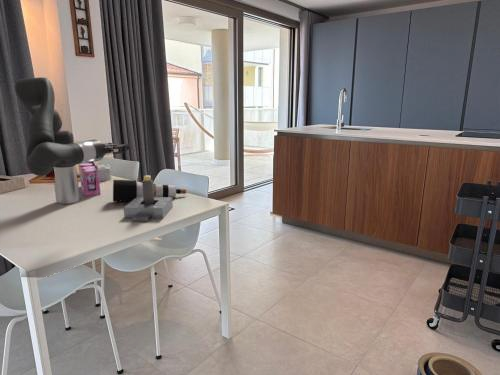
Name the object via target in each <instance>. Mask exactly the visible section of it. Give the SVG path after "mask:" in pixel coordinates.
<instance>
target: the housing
mask: <svg viewBox="0 0 500 375" xmlns="http://www.w3.org/2000/svg"><path fill="white" fill-rule="evenodd" d="M173 206H174V205H173V197H154V205H150V204H144V201H143V197H136V198H135V199H134V200H133V201H129V202H128V203H127V204H126V205H124V207H123V214H124V215H123V216H124V219H132V222H139V223H141V222H142V223H143V222H145V223H146V222H150V220H152V219H158V220H159V219H161V220H162V219H164V218H165V217H166V215H168V214H169V212H170V211H171V209H173Z"/></svg>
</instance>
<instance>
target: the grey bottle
mask: <svg viewBox="0 0 500 375" xmlns="http://www.w3.org/2000/svg"><path fill="white" fill-rule="evenodd" d="M151 178H152V177H151V175H143V180H142V181H141V184H142V187H143V201H144V204H150V205H154V190H153V184H154V180H153V179H151Z"/></svg>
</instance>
